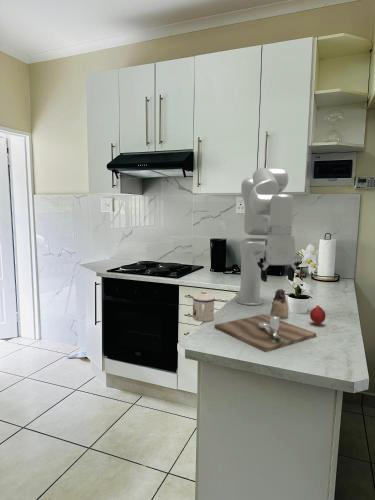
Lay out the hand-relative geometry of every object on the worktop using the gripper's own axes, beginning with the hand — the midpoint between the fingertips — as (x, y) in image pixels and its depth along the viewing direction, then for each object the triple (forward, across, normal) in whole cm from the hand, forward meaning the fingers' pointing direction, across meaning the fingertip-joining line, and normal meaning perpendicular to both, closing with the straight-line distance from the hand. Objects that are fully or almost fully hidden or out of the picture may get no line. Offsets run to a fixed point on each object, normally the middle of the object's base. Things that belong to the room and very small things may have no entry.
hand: (277, 280), depth 117 cm
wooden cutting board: (+21, -1, +6) cm, 22 cm away
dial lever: (+19, -1, 0) cm, 19 cm away
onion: (+21, +24, +12) cm, 34 cm away
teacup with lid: (+21, -21, +22) cm, 37 cm away
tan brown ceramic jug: (+21, +13, +23) cm, 34 cm away
